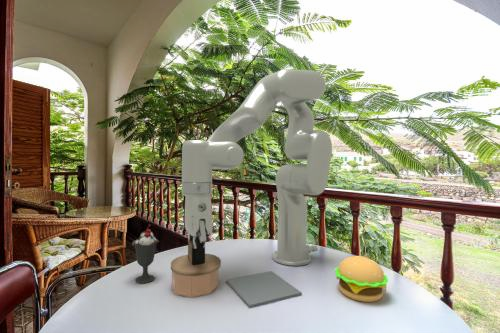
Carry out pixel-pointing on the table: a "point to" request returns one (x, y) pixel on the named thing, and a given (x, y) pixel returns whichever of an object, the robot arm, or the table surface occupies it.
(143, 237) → the sundae
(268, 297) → the mat
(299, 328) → the table surface
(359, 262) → the hamburger
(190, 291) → the bowl
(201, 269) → the lid
